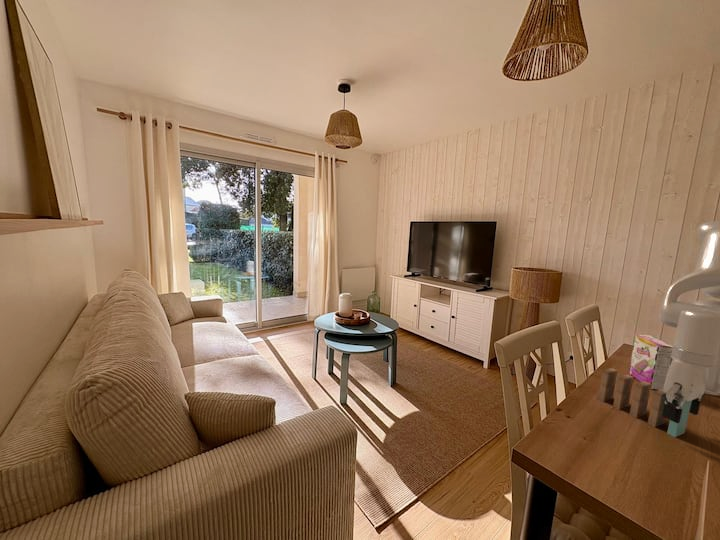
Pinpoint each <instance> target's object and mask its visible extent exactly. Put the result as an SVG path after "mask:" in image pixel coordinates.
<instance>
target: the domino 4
mask: <svg viewBox="0 0 720 540" xmlns="http://www.w3.org/2000/svg"><path fill="white" fill-rule="evenodd" d="M665 398H666V394H665V393H664V392H663V389H660V390H653V395H652V400H651V405H650V410H649V415H648V420H647V425H650V426H652V427H653V428H657V427H659V426H661V425H663V424H665V420H666V418H665V417H663V416H662V414H663V409H664V405H665Z"/></svg>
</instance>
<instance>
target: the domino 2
mask: <svg viewBox="0 0 720 540" xmlns="http://www.w3.org/2000/svg"><path fill="white" fill-rule="evenodd" d="M634 379H635V378H634V377H633V376H631V375H630V374H629V373H627V374H623V375H619V376H617V380H616V385H615V386H616V387H615V391H614V392H615V393H614V398H613V404H612V407H613V408H615V409H617V410H621V409H624V408H626V407H629V405H630V398H631V394H632V390H633V389H632V387H633V384H634Z"/></svg>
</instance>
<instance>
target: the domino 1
mask: <svg viewBox="0 0 720 540" xmlns="http://www.w3.org/2000/svg"><path fill="white" fill-rule="evenodd" d="M618 371H619V370H618V369H615V368H612V367H611V368H607V369H603V370H602V372H601V379H600V384H599V390H598V394H597V396H598V397H597V400H599V401H601V402H603V403H604V402H607V401H609V400H614V398H613V397H614V395H615V393H614V392H615V389H616V387H615V386H616V383H617V378H618V376H617V375H618Z"/></svg>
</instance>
